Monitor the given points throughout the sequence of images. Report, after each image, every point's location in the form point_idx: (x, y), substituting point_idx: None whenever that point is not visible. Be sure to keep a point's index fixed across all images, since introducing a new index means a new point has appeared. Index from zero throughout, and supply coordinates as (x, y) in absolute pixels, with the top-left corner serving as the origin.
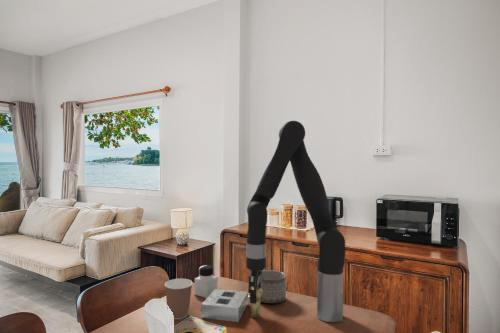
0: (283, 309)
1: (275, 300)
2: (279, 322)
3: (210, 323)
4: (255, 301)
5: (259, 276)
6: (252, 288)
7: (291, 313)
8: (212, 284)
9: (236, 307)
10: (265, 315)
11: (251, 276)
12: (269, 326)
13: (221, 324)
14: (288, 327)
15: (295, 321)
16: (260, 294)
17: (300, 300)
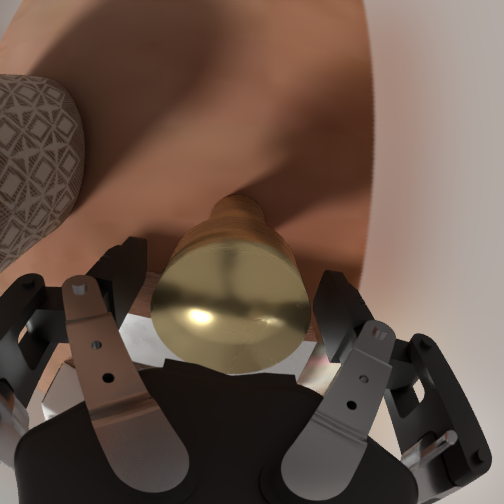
0: (133, 65)
1: (72, 117)
2: (309, 89)
3: (305, 373)
4: (343, 281)
5: (350, 471)
6: (202, 348)
7: (185, 21)
8: (74, 405)
9: (306, 350)
10: (220, 163)
11: (452, 490)
12: (355, 150)
13: (317, 347)
14: (362, 57)
15: (290, 10)
16: (290, 261)
17: (43, 17)
